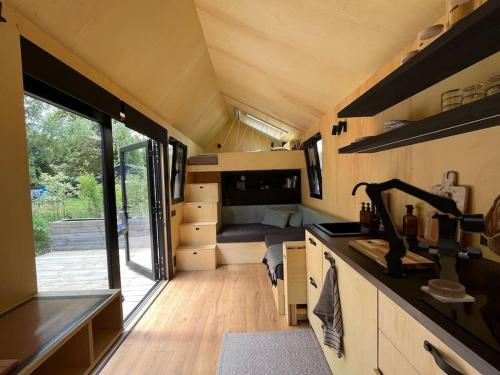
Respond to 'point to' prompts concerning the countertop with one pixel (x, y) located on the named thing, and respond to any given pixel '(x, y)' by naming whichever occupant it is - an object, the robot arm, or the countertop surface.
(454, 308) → the countertop surface
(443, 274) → the cork
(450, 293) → the shaker holder
